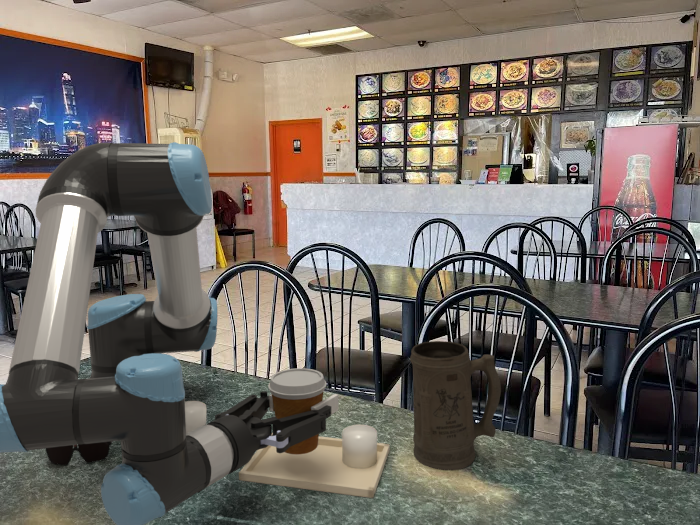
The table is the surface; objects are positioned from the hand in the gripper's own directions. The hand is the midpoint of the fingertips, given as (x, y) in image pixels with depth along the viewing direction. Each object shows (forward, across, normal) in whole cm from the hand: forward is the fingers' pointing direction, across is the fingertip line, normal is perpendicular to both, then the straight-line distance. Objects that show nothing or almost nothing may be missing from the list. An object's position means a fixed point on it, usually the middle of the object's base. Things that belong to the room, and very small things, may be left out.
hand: (315, 396), depth 94 cm
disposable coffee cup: (-5, 0, -7) cm, 9 cm away
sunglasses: (-20, -37, -12) cm, 44 cm away
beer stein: (+13, +20, -12) cm, 27 cm away
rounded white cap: (-6, -26, -11) cm, 29 cm away
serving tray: (-3, +2, -11) cm, 12 cm away
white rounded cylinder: (+3, +7, -11) cm, 13 cm away
